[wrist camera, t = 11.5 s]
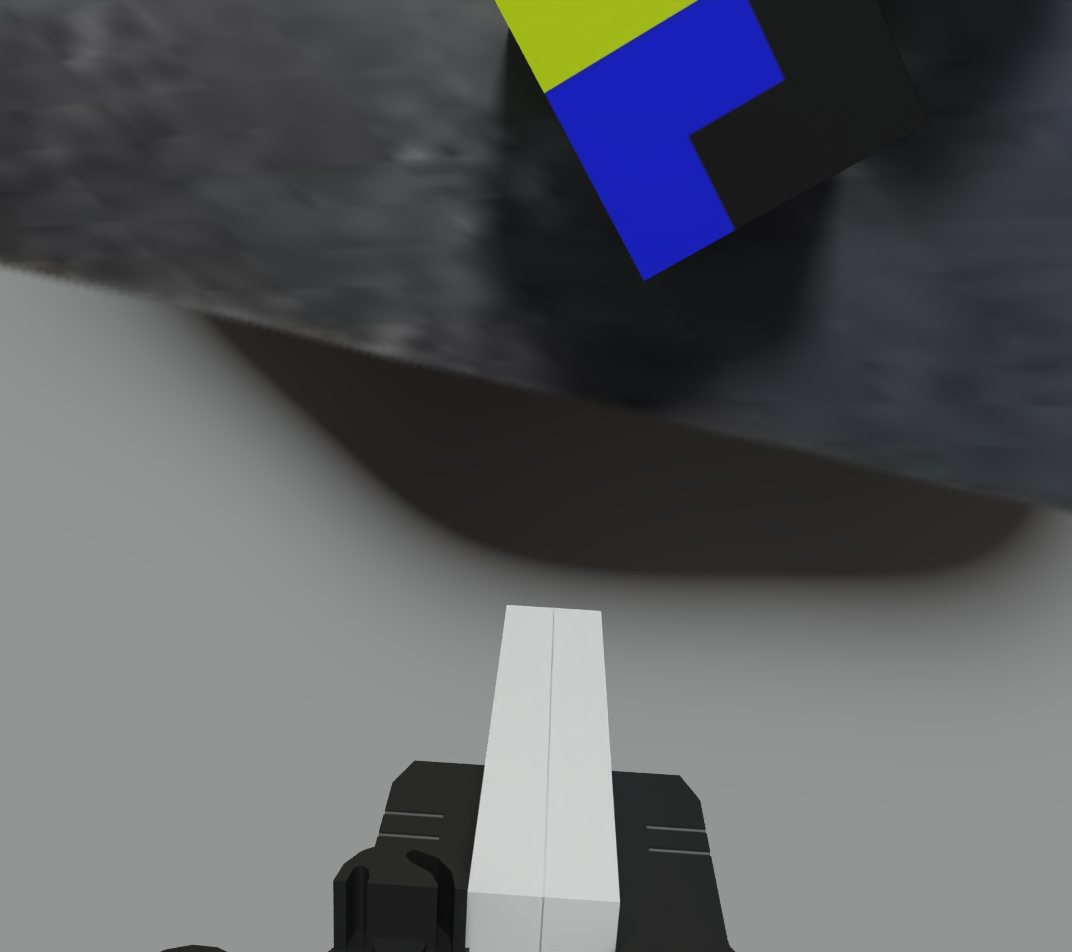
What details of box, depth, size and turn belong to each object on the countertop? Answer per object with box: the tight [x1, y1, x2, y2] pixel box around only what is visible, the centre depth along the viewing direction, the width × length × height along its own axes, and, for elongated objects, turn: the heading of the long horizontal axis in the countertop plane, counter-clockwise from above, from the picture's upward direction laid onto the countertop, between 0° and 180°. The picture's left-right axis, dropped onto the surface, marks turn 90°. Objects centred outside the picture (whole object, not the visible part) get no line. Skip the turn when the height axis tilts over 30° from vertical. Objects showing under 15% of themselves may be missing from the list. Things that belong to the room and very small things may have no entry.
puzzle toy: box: [495, 0, 929, 281], centre depth 36 cm, size 10×10×10 cm
